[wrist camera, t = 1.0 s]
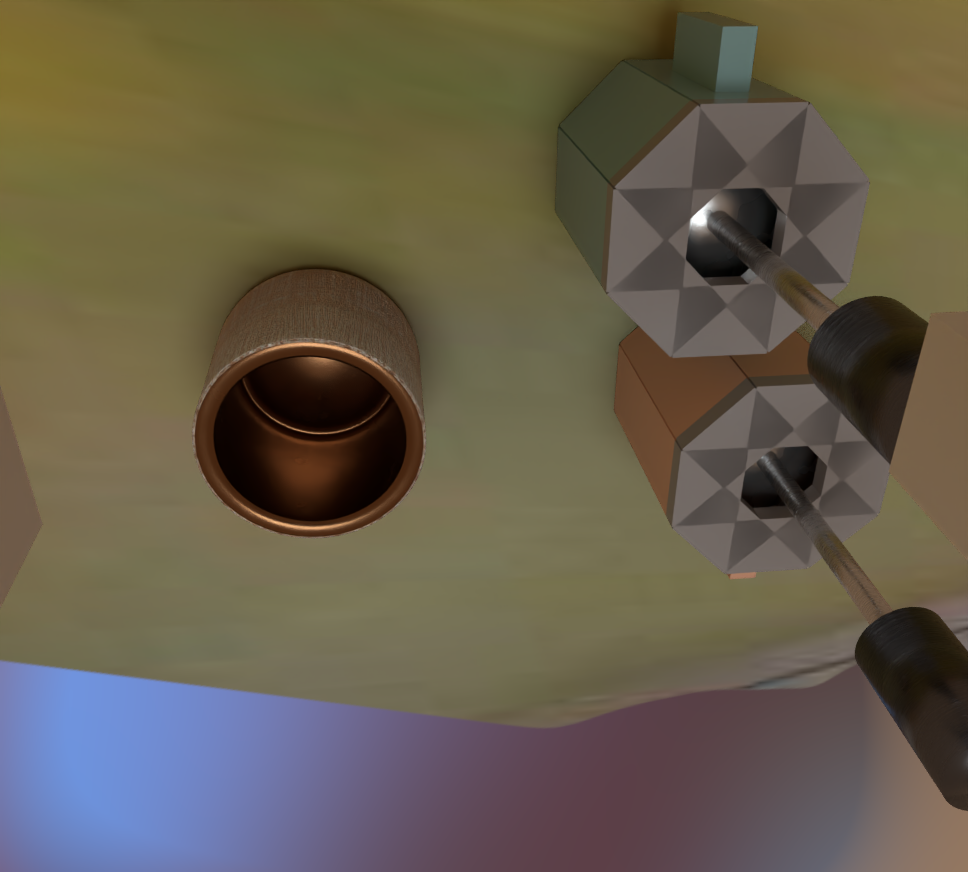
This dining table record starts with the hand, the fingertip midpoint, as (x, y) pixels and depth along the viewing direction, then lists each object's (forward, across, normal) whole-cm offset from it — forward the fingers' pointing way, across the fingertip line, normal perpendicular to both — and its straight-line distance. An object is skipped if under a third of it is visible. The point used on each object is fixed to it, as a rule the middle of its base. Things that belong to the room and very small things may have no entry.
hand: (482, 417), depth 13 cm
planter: (+35, -5, -16) cm, 39 cm away
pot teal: (+35, +13, -5) cm, 38 cm away
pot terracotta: (+35, +17, -19) cm, 43 cm away
